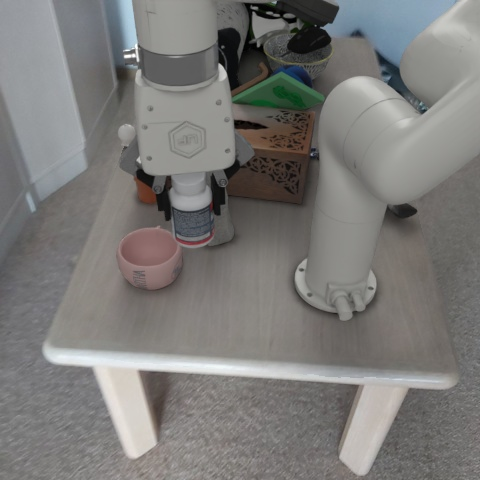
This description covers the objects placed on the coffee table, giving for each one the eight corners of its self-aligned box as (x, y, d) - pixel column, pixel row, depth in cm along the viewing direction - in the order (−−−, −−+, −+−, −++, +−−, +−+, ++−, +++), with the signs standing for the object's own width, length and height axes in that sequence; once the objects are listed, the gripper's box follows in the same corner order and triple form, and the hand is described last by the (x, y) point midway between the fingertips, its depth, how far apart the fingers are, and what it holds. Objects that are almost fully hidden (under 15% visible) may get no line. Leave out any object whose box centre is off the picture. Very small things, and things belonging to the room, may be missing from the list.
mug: (177, 301, 84) (174, 272, 80) (113, 294, 85) (106, 265, 80) (192, 249, 92) (190, 220, 88) (133, 243, 93) (128, 214, 88)
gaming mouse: (271, 52, 125) (272, 33, 122) (316, 34, 132) (318, 16, 129) (291, 62, 122) (293, 43, 119) (336, 43, 129) (338, 24, 126)
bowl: (321, 100, 126) (325, 67, 120) (253, 89, 129) (254, 56, 123) (335, 70, 136) (339, 38, 131) (272, 61, 139) (274, 29, 134)
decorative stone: (184, 211, 99) (178, 133, 88) (216, 204, 100) (214, 127, 89) (203, 249, 92) (200, 171, 81) (237, 241, 94) (238, 163, 82)
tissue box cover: (309, 160, 110) (315, 112, 102) (301, 203, 100) (307, 154, 93) (182, 145, 113) (179, 97, 105) (162, 186, 103) (157, 137, 96)
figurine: (296, -3, 124) (305, 10, 135) (232, 14, 129) (246, 26, 140) (300, 34, 126) (309, 45, 136) (237, 50, 130) (251, 59, 141)
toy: (250, 135, 117) (210, 117, 111) (252, 121, 117) (213, 102, 112) (322, 106, 99) (279, 82, 93) (325, 89, 99) (282, 64, 94)
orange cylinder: (167, 203, 100) (163, 166, 95) (136, 205, 100) (131, 168, 94) (165, 185, 104) (161, 149, 98) (135, 188, 103) (130, 151, 97)
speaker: (252, 49, 144) (254, -16, 133) (239, 102, 125) (240, 32, 114) (195, 45, 145) (192, -20, 134) (172, 97, 126) (167, 27, 115)
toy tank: (302, 25, 131) (326, 13, 136) (223, -2, 142) (248, -12, 147) (298, 65, 138) (321, 53, 143) (223, 37, 149) (247, 26, 154)
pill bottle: (220, 243, 69) (218, 182, 62) (180, 253, 68) (173, 192, 61) (206, 218, 72) (202, 157, 66) (167, 228, 71) (159, 167, 64)
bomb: (276, 125, 117) (264, 120, 131) (324, 104, 116) (307, 101, 130) (259, 78, 113) (248, 78, 127) (308, 56, 112) (292, 58, 126)
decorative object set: (218, 141, 114) (218, 120, 111) (119, 147, 112) (116, 126, 108) (215, 131, 117) (215, 110, 114) (118, 137, 115) (115, 115, 112)
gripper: (88, 84, 50) (120, 239, 64) (274, 69, 52) (267, 223, 66) (89, 48, 55) (119, 200, 69) (259, 36, 57) (255, 186, 71)
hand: (191, 210), depth 67 cm, fingers closed on pill bottle, 5 cm apart
